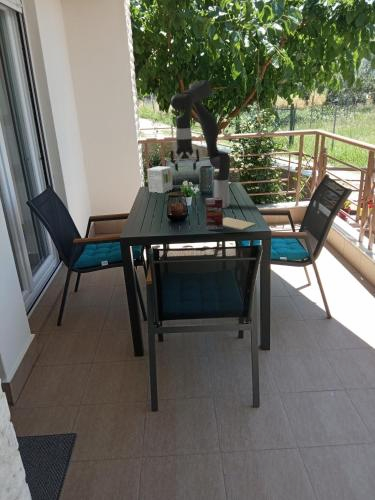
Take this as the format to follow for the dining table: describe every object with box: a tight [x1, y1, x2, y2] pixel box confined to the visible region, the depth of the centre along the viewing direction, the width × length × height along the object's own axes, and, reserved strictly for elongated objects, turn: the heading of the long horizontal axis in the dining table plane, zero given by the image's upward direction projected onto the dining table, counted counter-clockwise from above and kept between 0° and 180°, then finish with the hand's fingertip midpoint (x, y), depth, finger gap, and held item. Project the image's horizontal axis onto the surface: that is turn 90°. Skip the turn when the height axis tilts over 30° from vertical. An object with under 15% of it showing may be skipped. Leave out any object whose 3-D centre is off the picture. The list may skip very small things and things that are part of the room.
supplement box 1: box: [147, 165, 174, 194], centre depth 293 cm, size 13×13×18 cm
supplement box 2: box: [205, 197, 224, 231], centre depth 202 cm, size 9×5×16 cm, turn 92°
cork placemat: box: [223, 216, 256, 231], centre depth 210 cm, size 12×20×1 cm, turn 44°
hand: (185, 170), depth 198 cm, fingers open, 8 cm apart
